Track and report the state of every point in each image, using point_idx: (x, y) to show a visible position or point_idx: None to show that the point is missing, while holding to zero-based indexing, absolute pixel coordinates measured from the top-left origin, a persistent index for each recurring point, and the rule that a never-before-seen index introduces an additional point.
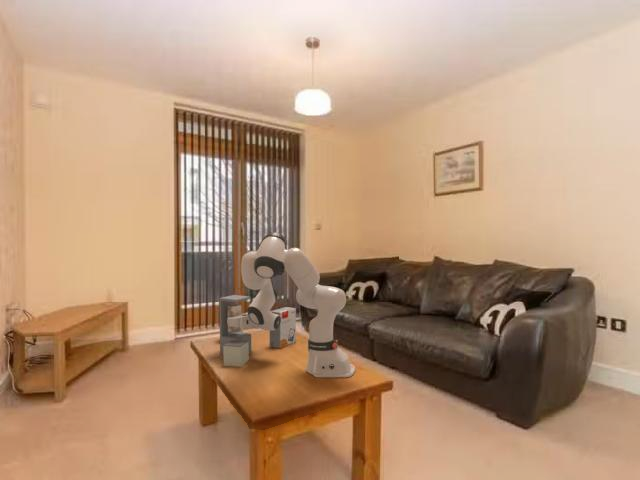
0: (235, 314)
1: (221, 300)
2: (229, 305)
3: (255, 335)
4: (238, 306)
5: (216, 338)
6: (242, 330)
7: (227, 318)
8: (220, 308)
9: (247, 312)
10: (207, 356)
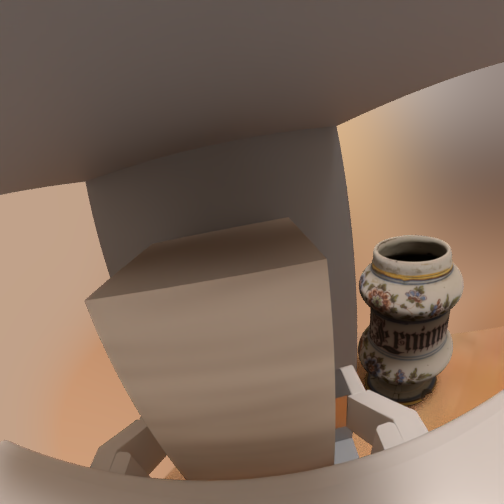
0: (170, 435)
1: (80, 180)
2: (171, 242)
3: (497, 364)
4: (224, 305)
5: (360, 337)
6: (444, 363)
7: (1, 441)
8: (111, 268)
9: (452, 442)
10: (178, 471)
